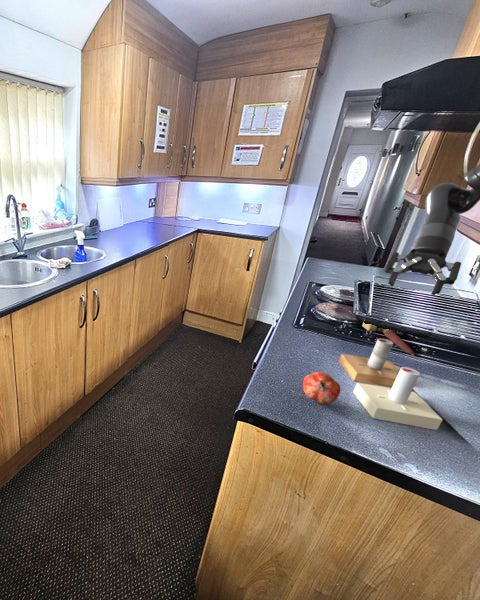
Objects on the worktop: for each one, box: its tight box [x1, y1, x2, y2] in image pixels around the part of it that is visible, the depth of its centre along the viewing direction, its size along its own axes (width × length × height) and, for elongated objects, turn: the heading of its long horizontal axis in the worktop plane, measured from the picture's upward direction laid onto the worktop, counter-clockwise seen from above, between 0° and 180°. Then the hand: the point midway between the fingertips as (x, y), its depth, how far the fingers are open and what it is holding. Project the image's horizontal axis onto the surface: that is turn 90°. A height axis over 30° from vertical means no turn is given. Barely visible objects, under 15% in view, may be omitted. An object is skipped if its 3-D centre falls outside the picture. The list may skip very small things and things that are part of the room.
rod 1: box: [367, 337, 394, 370], centre depth 88 cm, size 3×3×8 cm
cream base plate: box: [353, 382, 444, 431], centre depth 77 cm, size 12×10×3 cm
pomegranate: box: [302, 371, 341, 405], centre depth 80 cm, size 7×7×10 cm
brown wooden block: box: [338, 353, 400, 388], centre depth 90 cm, size 12×10×3 cm
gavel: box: [362, 321, 415, 356], centre depth 106 cm, size 21×5×10 cm
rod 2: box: [388, 366, 421, 404], centre depth 75 cm, size 3×3×8 cm
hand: (412, 289), depth 91 cm, fingers open, 8 cm apart
